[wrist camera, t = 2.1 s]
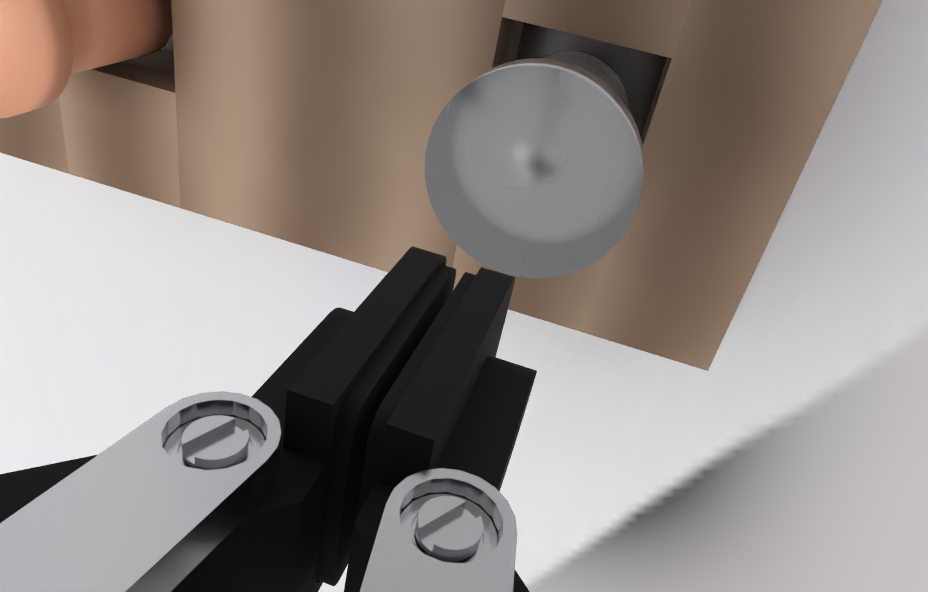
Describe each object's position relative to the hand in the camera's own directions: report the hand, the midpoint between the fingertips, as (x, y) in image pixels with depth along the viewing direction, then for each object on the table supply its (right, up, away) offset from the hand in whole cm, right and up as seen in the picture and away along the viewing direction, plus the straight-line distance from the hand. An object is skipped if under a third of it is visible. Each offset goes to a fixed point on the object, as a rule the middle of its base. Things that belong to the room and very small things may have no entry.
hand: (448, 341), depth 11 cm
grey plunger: (+4, +7, +11) cm, 13 cm away
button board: (-3, +10, +14) cm, 18 cm away
